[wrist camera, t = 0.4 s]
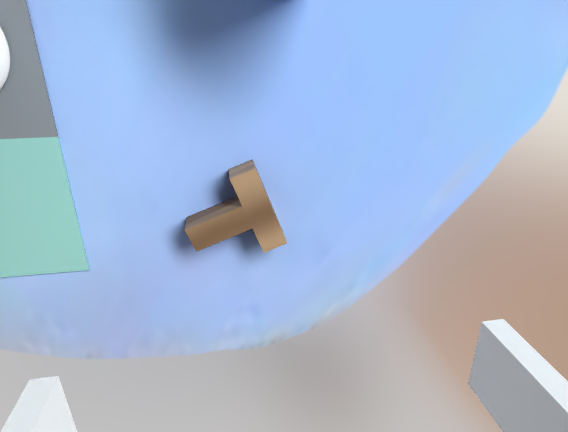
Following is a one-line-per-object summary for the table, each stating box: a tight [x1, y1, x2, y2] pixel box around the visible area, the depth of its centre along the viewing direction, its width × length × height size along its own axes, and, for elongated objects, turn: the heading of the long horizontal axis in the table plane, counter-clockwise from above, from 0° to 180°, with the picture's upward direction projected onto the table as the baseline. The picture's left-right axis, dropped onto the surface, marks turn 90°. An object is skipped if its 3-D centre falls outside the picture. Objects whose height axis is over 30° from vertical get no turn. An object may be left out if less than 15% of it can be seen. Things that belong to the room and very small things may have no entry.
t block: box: [185, 160, 287, 252], centre depth 37 cm, size 8×8×3 cm
